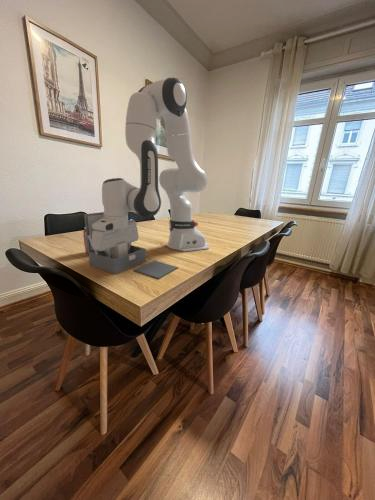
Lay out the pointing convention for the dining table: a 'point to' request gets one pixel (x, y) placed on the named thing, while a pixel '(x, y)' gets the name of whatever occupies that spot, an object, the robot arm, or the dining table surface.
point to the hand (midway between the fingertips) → (118, 255)
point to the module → (119, 250)
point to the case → (100, 257)
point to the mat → (156, 269)
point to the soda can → (85, 240)
